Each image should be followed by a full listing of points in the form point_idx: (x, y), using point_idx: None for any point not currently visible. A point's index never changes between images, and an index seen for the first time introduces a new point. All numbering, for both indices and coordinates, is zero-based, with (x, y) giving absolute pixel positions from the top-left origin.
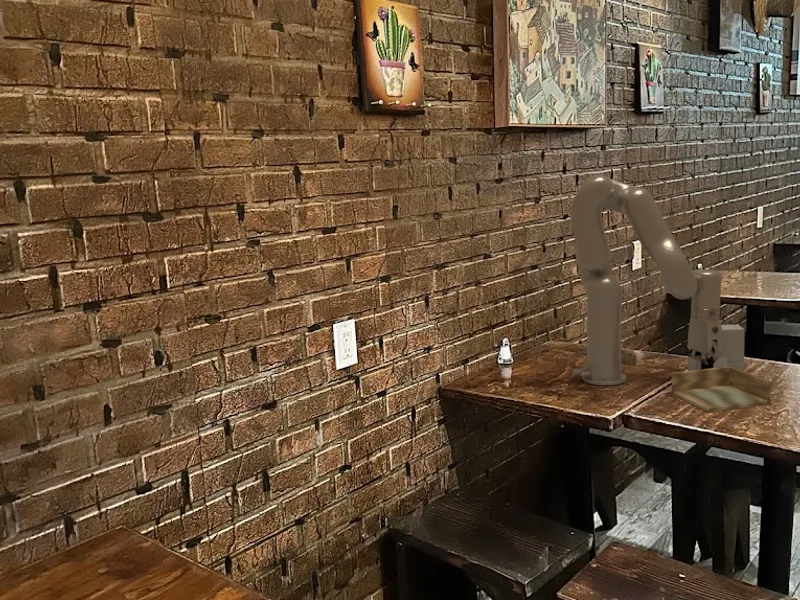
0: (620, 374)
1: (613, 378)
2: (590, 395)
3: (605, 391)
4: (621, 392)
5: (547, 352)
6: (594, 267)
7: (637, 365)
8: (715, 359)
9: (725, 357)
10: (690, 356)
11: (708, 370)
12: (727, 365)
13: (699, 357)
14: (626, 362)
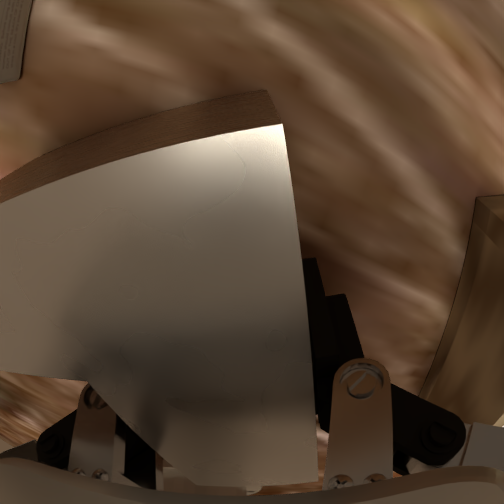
0: (220, 486)
1: (244, 489)
2: (317, 490)
3: (301, 483)
4: (322, 473)
5: (4, 435)
6: None
7: (27, 388)
8: (471, 435)
9: (289, 184)
10: (194, 480)
11: (501, 423)
12: (4, 10)
13: (235, 464)
14: (8, 391)
